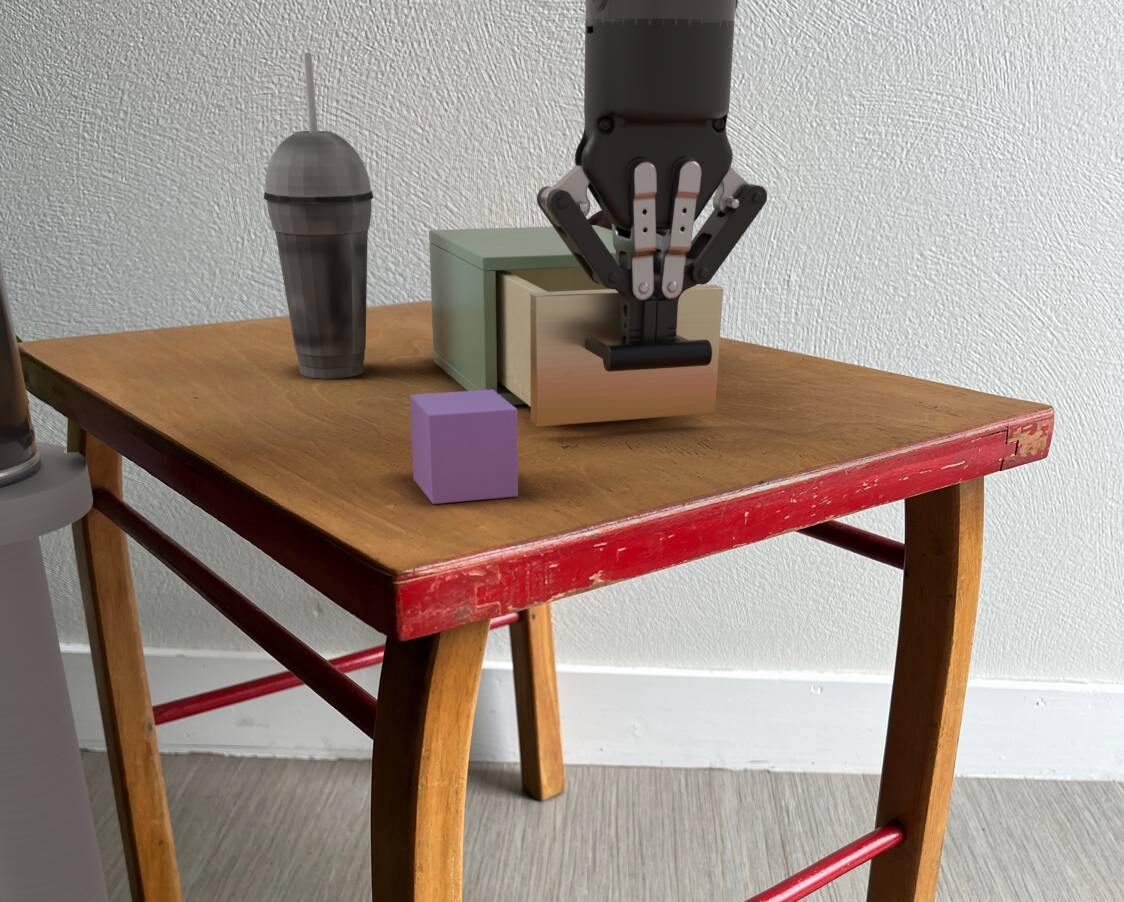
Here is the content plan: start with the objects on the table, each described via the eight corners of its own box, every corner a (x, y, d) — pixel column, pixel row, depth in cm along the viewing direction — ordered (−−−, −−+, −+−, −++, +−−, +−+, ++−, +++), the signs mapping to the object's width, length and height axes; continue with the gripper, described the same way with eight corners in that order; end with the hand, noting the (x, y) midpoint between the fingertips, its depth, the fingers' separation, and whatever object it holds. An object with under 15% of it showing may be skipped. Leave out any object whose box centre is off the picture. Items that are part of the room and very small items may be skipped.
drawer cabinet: (667, 394, 86) (673, 250, 82) (485, 407, 83) (482, 257, 78) (594, 352, 98) (596, 225, 94) (433, 362, 95) (428, 230, 91)
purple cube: (432, 504, 65) (429, 415, 63) (413, 479, 68) (409, 394, 66) (518, 496, 66) (517, 408, 64) (494, 473, 70) (493, 388, 68)
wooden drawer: (750, 433, 74) (761, 301, 71) (562, 448, 71) (564, 310, 67) (635, 368, 89) (639, 256, 86) (476, 378, 86) (474, 262, 83)
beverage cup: (281, 384, 88) (249, 52, 78) (279, 363, 94) (249, 52, 85) (388, 380, 89) (369, 53, 80) (379, 359, 96) (361, 53, 86)
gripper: (746, 17, 70) (724, 346, 78) (512, 13, 66) (515, 359, 74) (813, 14, 63) (782, 372, 72) (559, 9, 60) (557, 388, 68)
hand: (646, 365), depth 73 cm, fingers closed
